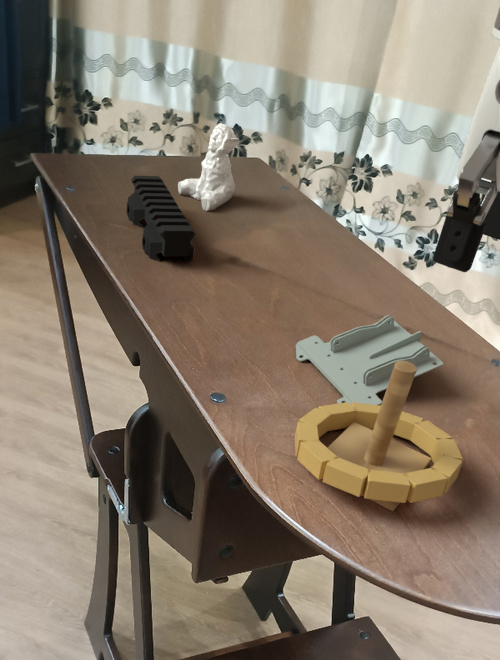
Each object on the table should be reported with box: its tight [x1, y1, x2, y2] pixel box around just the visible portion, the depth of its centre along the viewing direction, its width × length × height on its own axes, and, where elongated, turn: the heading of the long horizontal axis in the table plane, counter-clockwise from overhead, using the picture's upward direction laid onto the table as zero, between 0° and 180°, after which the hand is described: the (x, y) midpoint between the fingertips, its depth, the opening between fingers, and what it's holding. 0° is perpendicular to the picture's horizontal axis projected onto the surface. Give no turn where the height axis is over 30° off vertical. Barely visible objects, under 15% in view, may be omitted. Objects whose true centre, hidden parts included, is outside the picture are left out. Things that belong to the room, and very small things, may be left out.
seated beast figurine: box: [177, 122, 240, 212], centre depth 119 cm, size 10×9×12 cm
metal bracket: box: [295, 314, 444, 406], centre depth 85 cm, size 14×6×15 cm
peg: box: [327, 361, 432, 512], centre depth 68 cm, size 9×9×12 cm
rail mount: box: [126, 175, 196, 263], centre depth 107 cm, size 21×6×5 cm, turn 16°
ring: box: [294, 402, 464, 504], centre depth 71 cm, size 16×16×2 cm
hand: (470, 249), depth 63 cm, fingers open, 9 cm apart
